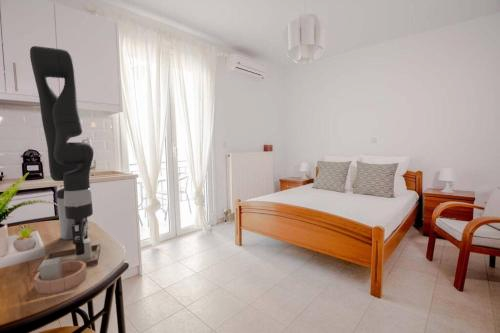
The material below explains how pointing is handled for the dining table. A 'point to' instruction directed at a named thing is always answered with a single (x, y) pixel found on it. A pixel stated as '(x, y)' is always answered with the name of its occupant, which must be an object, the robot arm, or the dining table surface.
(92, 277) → the dining table surface
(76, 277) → the bowl
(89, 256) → the white rectangular block
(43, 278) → the light grey block
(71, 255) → the tray
